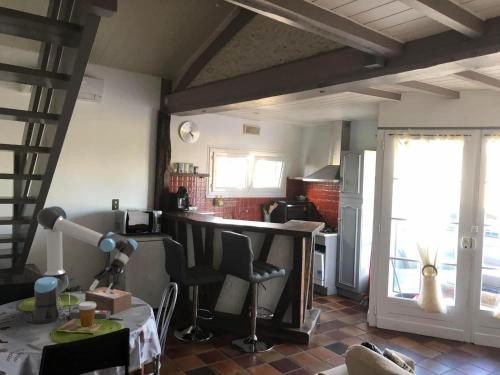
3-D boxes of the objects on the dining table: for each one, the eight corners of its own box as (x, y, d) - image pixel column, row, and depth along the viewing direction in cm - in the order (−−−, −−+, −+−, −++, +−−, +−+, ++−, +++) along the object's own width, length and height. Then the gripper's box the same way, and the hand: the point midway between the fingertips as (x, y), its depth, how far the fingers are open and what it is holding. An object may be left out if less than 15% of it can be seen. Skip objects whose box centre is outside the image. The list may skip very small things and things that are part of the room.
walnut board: (58, 331, 215) (58, 328, 215) (73, 321, 231) (73, 318, 231) (94, 333, 214) (94, 331, 214) (107, 323, 230) (107, 320, 230)
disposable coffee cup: (76, 328, 216) (76, 306, 216) (79, 322, 225) (79, 301, 225) (95, 327, 218) (95, 305, 218) (97, 321, 227) (97, 300, 227)
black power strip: (69, 318, 234) (69, 311, 234) (74, 315, 240) (75, 308, 240) (121, 321, 232) (121, 314, 232) (125, 318, 238) (125, 310, 238)
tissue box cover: (85, 307, 256) (85, 291, 256) (102, 301, 269) (103, 286, 269) (113, 314, 244) (114, 298, 244) (131, 308, 257) (131, 293, 256)
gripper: (137, 268, 239) (117, 299, 226) (108, 262, 251) (88, 291, 239) (131, 260, 234) (110, 292, 222) (102, 255, 247) (80, 285, 234)
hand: (98, 292), depth 230 cm, fingers open, 13 cm apart
